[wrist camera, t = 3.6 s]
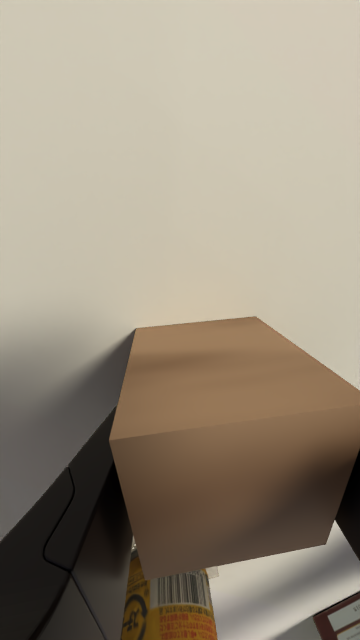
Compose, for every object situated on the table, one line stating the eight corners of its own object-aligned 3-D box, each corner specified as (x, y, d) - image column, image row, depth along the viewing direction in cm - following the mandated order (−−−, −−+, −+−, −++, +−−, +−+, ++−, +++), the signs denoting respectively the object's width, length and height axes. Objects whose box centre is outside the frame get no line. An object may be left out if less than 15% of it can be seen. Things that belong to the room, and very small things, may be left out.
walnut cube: (248, 408, 10) (325, 544, 6) (150, 422, 10) (145, 580, 5) (255, 316, 9) (375, 402, 4) (136, 328, 8) (108, 440, 3)
